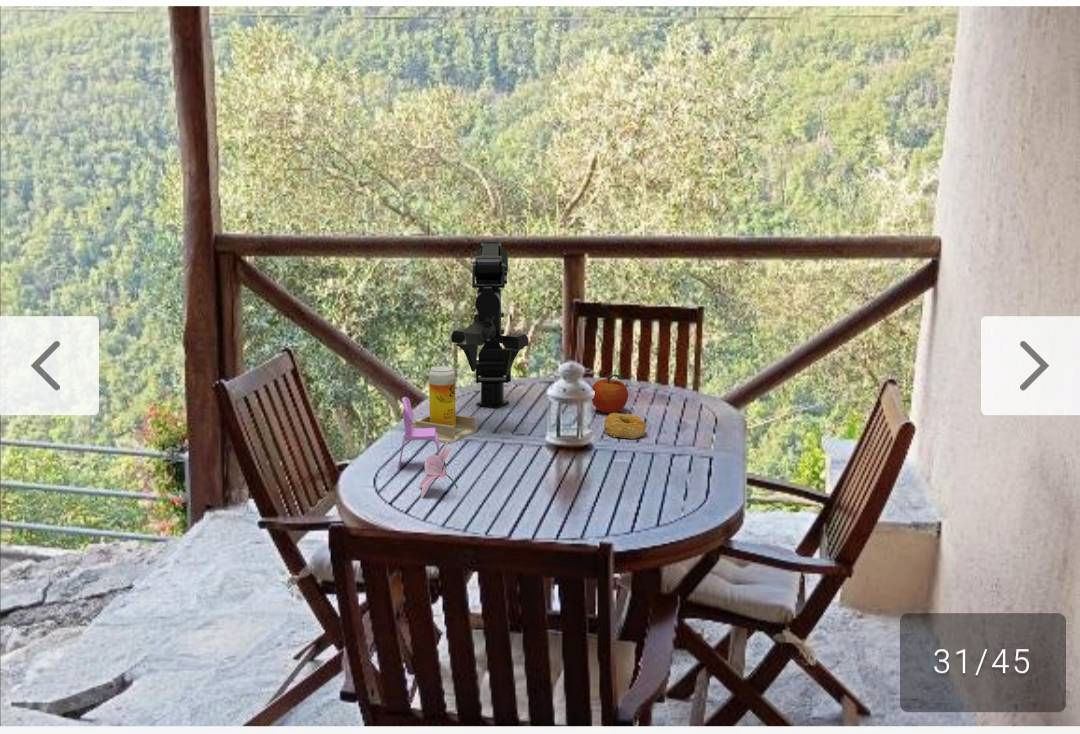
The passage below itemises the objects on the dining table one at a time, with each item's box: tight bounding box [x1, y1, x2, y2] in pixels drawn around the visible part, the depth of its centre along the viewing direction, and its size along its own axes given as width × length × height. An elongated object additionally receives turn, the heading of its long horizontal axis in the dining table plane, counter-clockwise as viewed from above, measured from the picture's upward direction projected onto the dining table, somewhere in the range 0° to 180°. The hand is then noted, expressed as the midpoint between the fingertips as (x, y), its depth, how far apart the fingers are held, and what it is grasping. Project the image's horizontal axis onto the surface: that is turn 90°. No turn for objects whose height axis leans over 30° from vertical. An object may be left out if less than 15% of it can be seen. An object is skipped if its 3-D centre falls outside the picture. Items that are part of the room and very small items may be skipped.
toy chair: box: [397, 396, 440, 471], centre depth 229 cm, size 8×9×15 cm
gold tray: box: [411, 414, 478, 444], centre depth 254 cm, size 12×12×4 cm
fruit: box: [591, 373, 629, 414], centre depth 274 cm, size 10×10×10 cm
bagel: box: [604, 412, 647, 440], centre depth 255 cm, size 10×11×5 cm
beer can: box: [428, 365, 457, 427], centre depth 253 cm, size 6×6×15 cm
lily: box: [418, 442, 459, 499], centre depth 214 cm, size 12×12×10 cm
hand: (489, 373), depth 260 cm, fingers open, 9 cm apart
